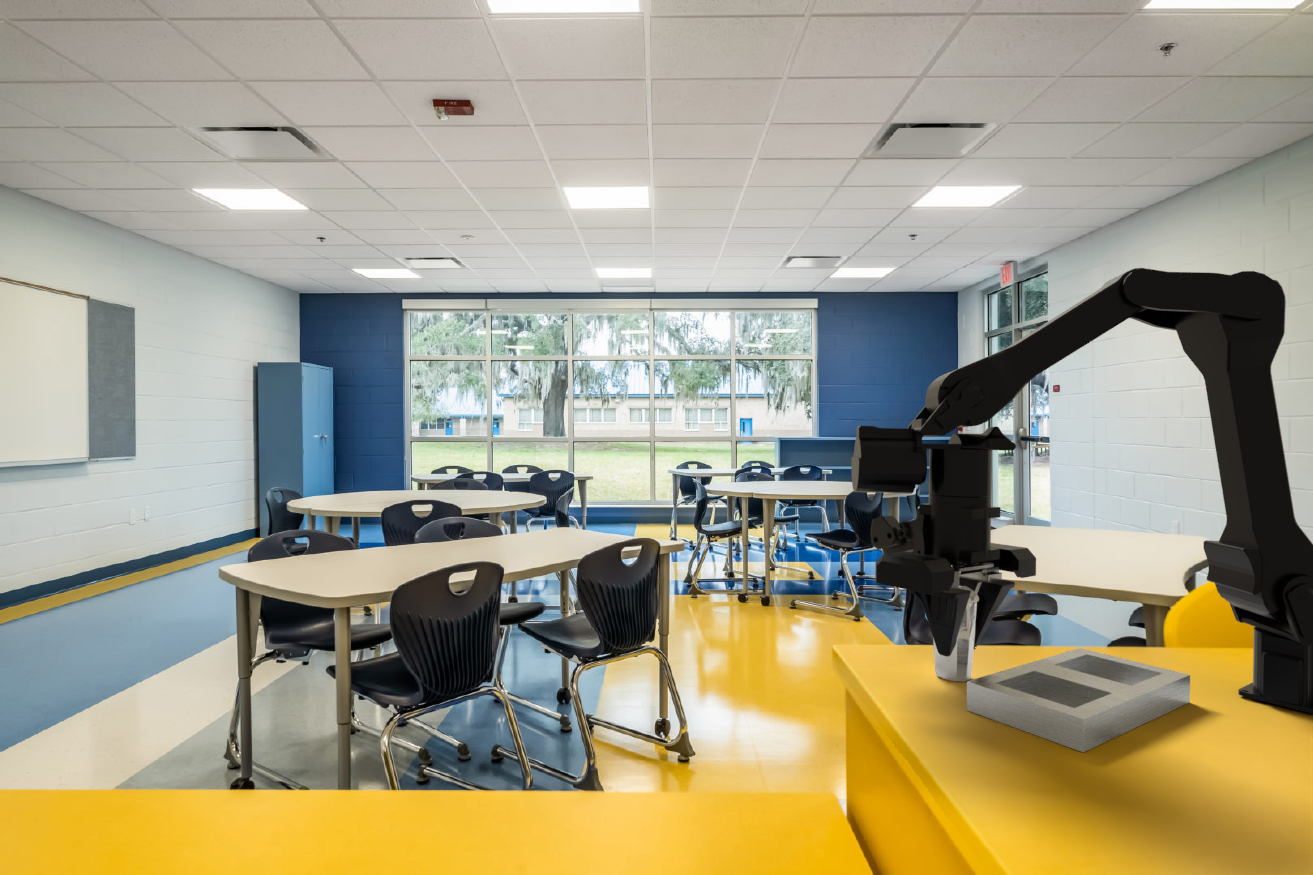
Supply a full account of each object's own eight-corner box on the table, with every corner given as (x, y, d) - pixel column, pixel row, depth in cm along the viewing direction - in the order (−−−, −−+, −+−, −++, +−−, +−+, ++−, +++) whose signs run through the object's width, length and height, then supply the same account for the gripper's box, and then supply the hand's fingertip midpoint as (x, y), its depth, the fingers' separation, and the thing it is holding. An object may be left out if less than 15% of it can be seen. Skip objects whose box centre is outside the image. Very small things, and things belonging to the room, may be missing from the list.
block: (1079, 672, 71) (1079, 647, 71) (1189, 702, 63) (1190, 674, 63) (966, 710, 60) (967, 681, 60) (1083, 752, 52) (1083, 719, 52)
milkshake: (961, 689, 65) (962, 583, 65) (918, 671, 70) (919, 573, 70) (995, 683, 67) (997, 580, 67) (951, 666, 72) (952, 570, 72)
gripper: (943, 488, 80) (940, 621, 80) (833, 491, 70) (830, 645, 70) (1039, 495, 71) (1037, 646, 71) (929, 500, 61) (926, 677, 60)
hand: (956, 652), depth 68 cm, fingers closed on milkshake, 4 cm apart
